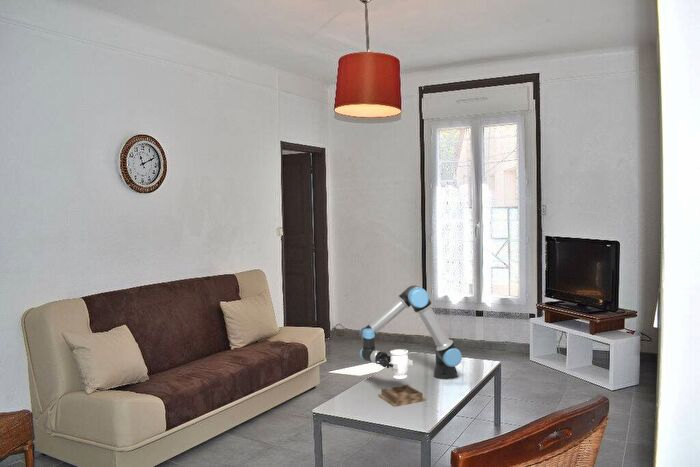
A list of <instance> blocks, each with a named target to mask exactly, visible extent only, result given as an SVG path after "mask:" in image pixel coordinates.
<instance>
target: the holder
mask: <svg viewBox="0 0 700 467" xmlns="http://www.w3.org/2000/svg"><path fill="white" fill-rule="evenodd" d="M380 392H381V393H379V394H378V395H377V396H378V398H380V399H382V400H384V401H385V402H386V403H388V404H390V405H391V406H392V407H394V408H395V407H400V406H406V405H412V404H417V403H420V402H421V403H422V402H426V401H427V399H426V397H425V396H423V395H424V394H423V392H422V391H419V390H418V389H415V388H413V386H410V385H408V384H404V385H399V386H392V387H387V388H381V391H380Z"/></svg>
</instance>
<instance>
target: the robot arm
mask: <svg viewBox="0 0 700 467" xmlns="http://www.w3.org/2000/svg"><path fill="white" fill-rule="evenodd" d="M410 307H411V308H412V309H413V311H414V313H416V314H418V315H419V317H420V318H421V320H422V322H423V324H424V326H425V327H426V329H427V330H428V333H429V334H430V336H431V338H432V339H433V341H434V348H435V349H434V351H435V366H434V369H433V377H434V378H436V379H440V380H451V379H455V378H457V377H458V371H457V368H456V367H457V366H459V364H460V363H461V362H462V358H463V356H462V352H461V351H460V349H458V348H457V345H456V344H455V342H454V340H452V339H449V337H448V335H447V332H445V329H444V328H443V326H442V323H441V322H440V320H439V318H438V317H437V314H436V313H435V311H434V310H433V308H432V301H431V299H430V297H429V294H428V292H427V290H425V289H424V288H422V287H420V286H418V285H410V286H408V287H406V289H405V290H404V291H402V292H401V294H399V295H398V296H397V299H396V300H395V301H393V303H392V304H390V305H389V306H388V307H387V308H386V309H385V310H383V311H382V312H381V313H380V314H379V315H378V316H376V318H374V319H373V320H372V321H371V322H370V323H368V325H366V326H365V327H362V328H361V329H360V330H359V336H360V338H361V341H362V348H361V349H360V350H359V351H360V352H359V357H360V359H362V360H364V361H366V362H370V363H374V364H376V365H379V366H381V367H383V368H386V369H392V368H395V369H398V364H396V363H392V362H390V359H391V355H388V353H386V352H385V351H380V350H377V349H376V337H375V336H376V335H377V334H378V333H379V332H380V331H381V330H382V329H384V327H386V326H387V325H388V324H389V323H391V321H393V319H395V318H396V317H397V316H398V315H400V314H401V313H402V312H403V311H404V310H405V309H406V308H407V309H408V308H410ZM408 366H413V360H412V359H409V365H408Z"/></svg>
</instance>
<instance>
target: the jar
mask: <svg viewBox="0 0 700 467" xmlns="http://www.w3.org/2000/svg"><path fill="white" fill-rule="evenodd" d="M389 353H390V356H391V359H390V362H392V363H396V364H398V369H395V368H391V372H392V374H393V376H392V377H393V379H396V380H403V379H404V380H405V379H407V378H408V375H407V374H408V372H409V366H410V365H409V360H410V359H409V356H408V354H409V350H407V349H404V348H403V349H402V348H397V349H392V350H390V351H389Z"/></svg>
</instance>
